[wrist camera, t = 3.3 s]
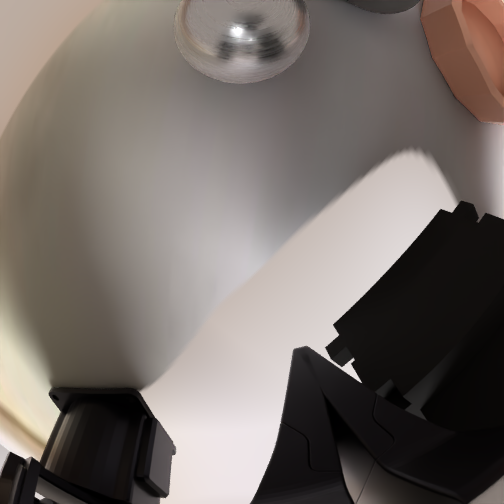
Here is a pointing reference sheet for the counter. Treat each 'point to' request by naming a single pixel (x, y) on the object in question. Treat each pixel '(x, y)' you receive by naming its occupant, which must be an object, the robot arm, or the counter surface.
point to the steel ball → (241, 37)
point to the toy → (436, 325)
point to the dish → (469, 52)
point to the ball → (384, 5)
